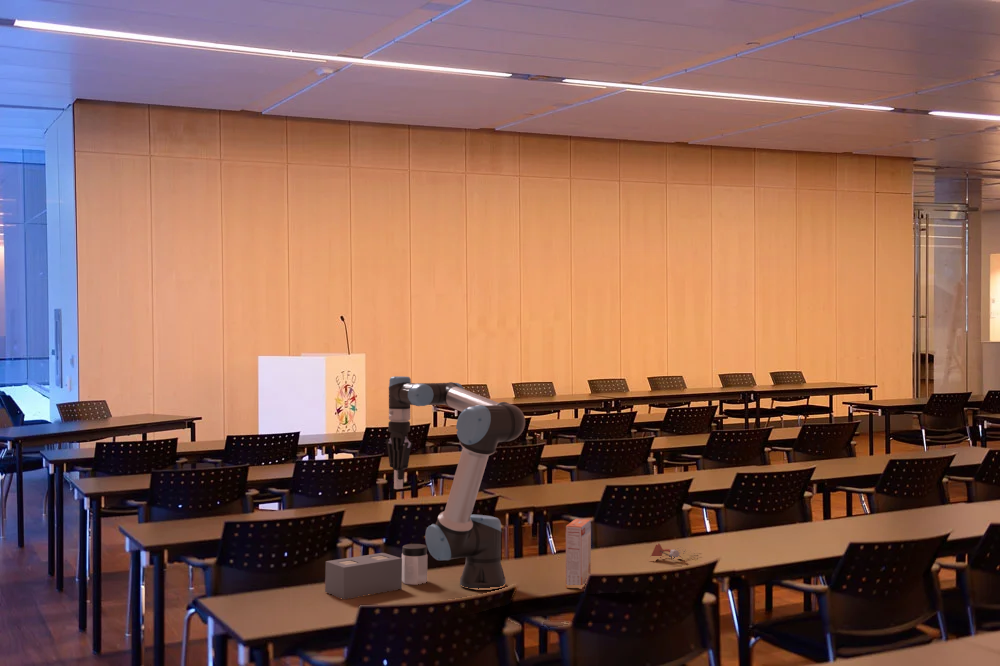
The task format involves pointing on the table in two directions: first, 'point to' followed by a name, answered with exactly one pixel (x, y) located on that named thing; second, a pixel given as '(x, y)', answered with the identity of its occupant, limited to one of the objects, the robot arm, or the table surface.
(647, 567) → the table surface
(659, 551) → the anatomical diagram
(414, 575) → the jar
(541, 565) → the table surface
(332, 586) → the peg block
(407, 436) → the robot arm
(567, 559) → the cracker box
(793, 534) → the table surface
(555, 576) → the table surface
